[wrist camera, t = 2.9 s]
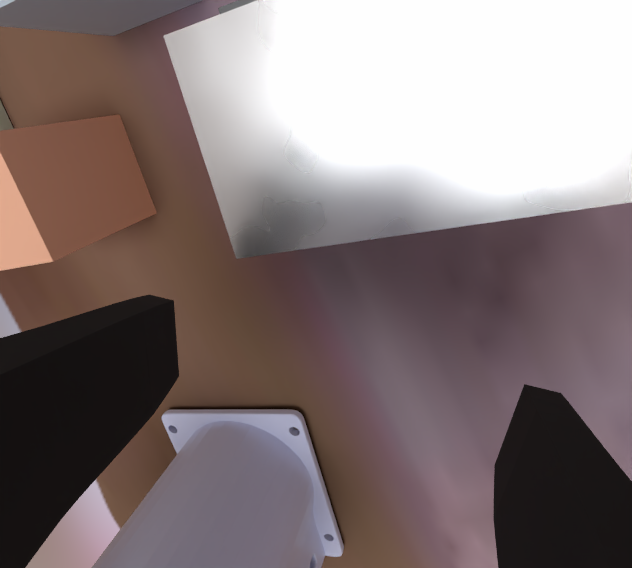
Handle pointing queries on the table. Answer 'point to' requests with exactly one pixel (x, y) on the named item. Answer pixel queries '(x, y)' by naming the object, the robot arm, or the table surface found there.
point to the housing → (406, 114)
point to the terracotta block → (66, 188)
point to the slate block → (86, 14)
